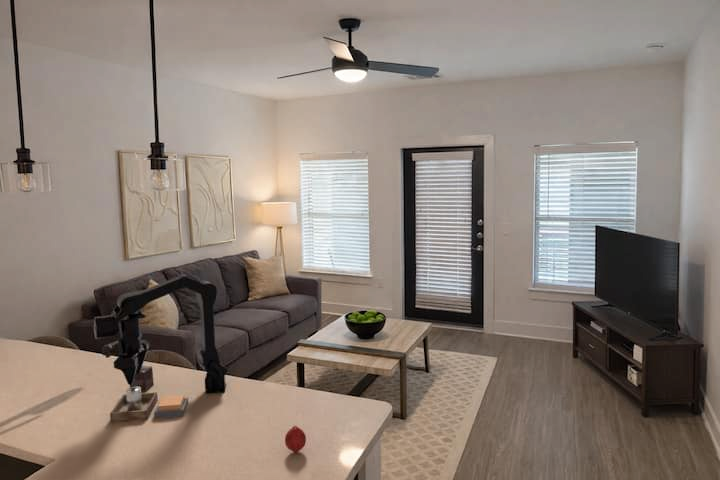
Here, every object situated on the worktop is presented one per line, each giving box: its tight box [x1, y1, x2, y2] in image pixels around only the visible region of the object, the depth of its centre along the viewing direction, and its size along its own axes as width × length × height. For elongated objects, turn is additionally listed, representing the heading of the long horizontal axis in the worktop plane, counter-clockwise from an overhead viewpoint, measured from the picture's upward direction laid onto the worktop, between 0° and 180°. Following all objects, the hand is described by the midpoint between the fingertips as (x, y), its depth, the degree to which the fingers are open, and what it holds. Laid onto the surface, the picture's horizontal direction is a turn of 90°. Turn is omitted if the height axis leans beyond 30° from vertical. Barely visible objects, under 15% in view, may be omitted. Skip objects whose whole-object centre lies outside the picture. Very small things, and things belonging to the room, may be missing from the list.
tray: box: [109, 391, 158, 423], centre depth 168 cm, size 11×14×3 cm
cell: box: [125, 386, 142, 411], centre depth 168 cm, size 4×4×8 cm
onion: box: [284, 425, 307, 454], centre depth 142 cm, size 6×6×8 cm
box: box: [129, 365, 154, 393], centre depth 186 cm, size 6×6×7 cm
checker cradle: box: [153, 397, 189, 419], centre depth 168 cm, size 9×9×2 cm
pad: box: [157, 394, 186, 411], centre depth 168 cm, size 7×7×2 cm
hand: (134, 378), depth 167 cm, fingers open, 9 cm apart
